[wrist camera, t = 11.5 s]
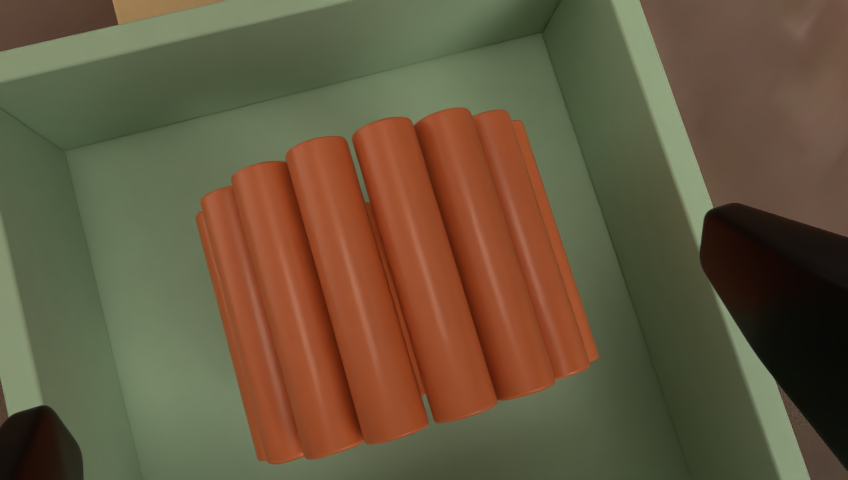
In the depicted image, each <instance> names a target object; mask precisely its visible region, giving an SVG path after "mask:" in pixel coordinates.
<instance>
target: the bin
mask: <svg viewBox="0 0 848 480" xmlns="http://www.w3.org/2000/svg"><path fill="white" fill-rule="evenodd" d="M459 107H462V108H467V109H468V110H469V111H470V112H471V114H472V116H474V115H476V114H479V113H482V112H486V111H490V110H506V111H507V112H508V113H509V114H510V117H511V120H520V121H522V122H523V124H524V127H525V130H526V133H527V136H528V139H529V142H530V145H531V148H532V151H533V154H534V157H535V160H536V163H537V166H538V170H539V173H540V176H541V179H542V182H543V185H544V188H545V191H546V194H547V197H548V200H549V203H550V206H551V209H552V212H553V216H554V219H555V222H556V225H557V228H558V231H559V234H560V237H561V240H562V243H563V246H564V249H565V252H566V255H567V258H568V262H569V265H570V268H571V271H572V274H573V277H574V280H575V283H576V286H577V289H578V292H579V295H580V298H581V301H582V304H583V308H584V311H585V314H586V317H587V320H588V323H589V326H590V329H591V332H592V335H593V338H594V341H595V344H596V347H597V350H598V354H599V358H598V359H596V360H595V361H593V362H590V367H589V368H588V369H586V370H585V371H583V372H580V373H578V374H575V375H572V376H569V377H565V378H562V379H558V380H555V384H554V385H552V386H551V387H549V388H547V389H545V390H542V391H540V392H537V393H534V394H531V395H527V396H524V397H520V398H516V399H511V400H505V401H498V400H497V405H495V406H494V407H493V408H491V409H489V410H487V411H485V412H482V413H480V414H477V415H474V416H471V417H468V418H465V419H461V420H457V421H453V422H448V423H436V422H435V421H434V420H433V416H432V413H431V409H430V406H429V403H428V399H427V396H426V394H425V395H424V396H422V400H423V403H424V406H425V410H426V413H427V417H428V420H429V425H428V426H427V427H425V428H424V429H422V430H420V431H418V432H416V433H413V434H411V435H408V436H405V437H403V438H400V439H396V440H393V441H389V442H385V443H381V444H375V445H367V444H366V443H365V442H363V443H362V444H360V445H358V446H356V447H354V448H351V449H349V450H346V451H343V452H340V453H337V454H334V455H331V456H327V457H323V458H319V459H306V458H305V457H302V458H299V459H296V460H293V461H290V462H286V463H282V464H276V465H274V464H269V463H268V462H267V461H259V460H258V459H257V456H256V452H255V449H254V445H253V441H252V437H251V433H250V429H249V425H248V421H247V417H246V414H245V410H244V406H243V402H242V398H241V394H240V390H239V386H238V383H237V379H236V375H235V371H234V367H233V363H232V359H231V355H230V352H229V348H228V344H227V340H226V336H225V332H224V328H223V324H222V321H221V317H220V313H219V309H218V305H217V301H216V297H215V293H214V290H213V286H212V282H211V278H210V274H209V270H208V266H207V262H206V259H205V255H204V251H203V247H202V243H201V239H200V235H199V231H198V228H197V224H196V220H195V218H196V215H197V214H198V213H199V212H200V211H202V209H201V205H200V201H201V198H202V197H203V196H204V195H206V194H208V193H210V192H212V191H214V190H217V189H220V188H223V187H227V186H232V183H231V177H232V175H233V174H234V173H236V172H237V171H239V170H241V169H243V168H245V167H248V166H250V165H253V164H257V163H261V162H267V161H286V158H285V157H286V153H287V151H288V150H289V149H291V148H292V147H294V146H296V145H298V144H300V143H302V142H304V141H307V140H310V139H314V138H318V137H324V136H341V137H344V138H345V139H346V140H347V142H348V145H349V149H350V152H351V156H352V159H353V163H354V166H355V169H356V173H357V176H358V180H359V183H360V187H361V190H362V193H363V197H364V200H365V202H370V201H369V197H368V194H367V190H366V187H365V183H364V180H363V177H362V173H361V170H360V166H359V163H358V159H357V156H356V153H355V149H354V146H353V142H352V135H353V134H354V132H356V131H357V130H358V129H360V128H361V127H363V126H365V125H367V124H369V123H372V122H374V121H377V120H381V119H385V118H390V117H407V118H409V119H411V121H412V122H413V125H415V123H417V122H418V121H419V120H421V119H422V118H424V117H426V116H428V115H430V114H432V113H435V112H438V111H441V110H445V109H449V108H459ZM286 162H287V161H286ZM712 208H713V205H712V203H711V200H710V197H709V194H708V191H707V189H706V186H705V183H704V180H703V177H702V175H701V172H700V169H699V166H698V163H697V161H696V158H695V155H694V152H693V149H692V147H691V144H690V141H689V138H688V135H687V133H686V130H685V127H684V124H683V121H682V119H681V116H680V113H679V110H678V107H677V105H676V102H675V99H674V96H673V93H672V91H671V88H670V85H669V82H668V79H667V77H666V74H665V71H664V68H663V65H662V63H661V60H660V57H659V54H658V51H657V49H656V46H655V43H654V40H653V38H652V35H651V32H650V29H649V26H648V24H647V21H646V18H645V15H644V12H643V10H642V7H641V4H640V1H639V0H225V1H220V2H216V3H212V4H207V5H203V6H198V7H194V8H190V9H185V10H181V11H176V12H172V13H168V14H163V15H159V16H155V17H150V18H146V19H141V20H137V21H133V22H128V23H124V24H119V25H115V26H111V27H106V28H102V29H98V30H93V31H89V32H84V33H80V34H76V35H71V36H67V37H62V38H58V39H54V40H49V41H45V42H41V43H36V44H32V45H27V46H23V47H19V48H14V49H10V50H5V51H1V52H0V379H1V384H2V388H3V393H4V398H5V402H6V407H7V412H8V416H9V417H10V416H11V415H12V414H14V413H17V412H20V411H23V410H26V409H30V408H33V407H37V406H40V405H47V406H49V407H51V408H52V409H53V410H54V411H55V412H56V413H57V415H58V416H59V418H60V419H61V420H62V422H63V423H64V424H65V426H66V427H67V429H68V430H69V431H70V433H71V434H72V436H73V437H74V438H75V440H76V441H77V443H78V445H79V447H80V449H81V452H82V457H83V471H84V480H810V477H809V474H808V471H807V468H806V466H805V463H804V460H803V457H802V454H801V452H800V449H799V446H798V443H797V440H796V438H795V435H794V432H793V429H792V426H791V424H790V421H789V418H788V415H787V412H786V410H785V407H784V404H783V401H782V398H781V396H780V393H779V390H778V387H777V384H776V382H775V379H774V378H773V376H772V375H771V374H770V373H769V371H768V370H767V369H766V367H765V366H764V365H763V363H762V362H761V361H760V359H759V358H758V357H757V355H756V354H755V352H754V351H753V349H752V348H751V346H750V345H749V343H748V342H747V340H746V339H745V337H744V336H743V334H742V332H741V331H740V329H739V328H738V326H737V324H736V323H735V321H734V320H733V318H732V316H731V315H730V313H729V312H728V310H727V308H726V307H725V305H724V304H723V302H722V300H721V299H720V297H719V296H718V294H717V292H716V291H715V289H714V288H713V286H712V284H711V283H710V281H709V280H708V278H707V276H706V275H705V273H704V271H703V269H702V267H701V264H700V258H699V253H700V245H701V237H702V228H703V220H704V216H705V214H706V213H707V211H709V210H710V209H712Z"/></svg>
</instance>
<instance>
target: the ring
mask: <svg viewBox="0 0 848 480" xmlns="http://www.w3.org/2000/svg"><path fill="white" fill-rule="evenodd" d="M352 142H353V146H354V149H355V153H356V156H357V159H358V163H359V166H360V170H361V173H362V177H363V180H364V183H365V187H366V190H367V194H368V197H369V201H370V202H365V200H364V197H363V193H362V190H361V187H360V183H359V180H358V176H357V173H356V169H355V166H354V163H353V159H352V156H351V152H350V149H349V145H348V142H347V140H346V139H345V138H344V137H341V136H324V137H318V138H314V139H310V140H307V141H304V142H302V143H300V144H298V145H296V146H294V147H292V148H291V149H289V150H288V151H287V153H286V157H285V158H286V161H287V162H286V161H267V162H261V163H257V164H253V165H250V166H248V167H245V168H243V169H241V170H239V171H237V172H236V173H234V174H233V175H232V177H231V183H232V186H227V187H223V188H220V189H217V190H214V191H212V192H210V193H208V194H206V195H204V196H203V197H202V198H201V201H200V205H201V209H202V211H200V212H199V213H198V214H197V215H196V218H195V220H196V224H197V228H198V231H199V235H200V239H201V243H202V247H203V251H204V255H205V259H206V262H207V266H208V270H209V274H210V278H211V282H212V286H213V290H214V293H215V297H216V301H217V305H218V309H219V313H220V317H221V321H222V324H223V328H224V332H225V336H226V340H227V344H228V348H229V352H230V355H231V359H232V363H233V367H234V371H235V375H236V379H237V383H238V386H239V390H240V394H241V398H242V402H243V406H244V410H245V414H246V417H247V421H248V425H249V429H250V433H251V437H252V441H253V445H254V449H255V452H256V456H257V459H258V460H259V461H267V462H268V463H269V464H274V465H276V464H282V463H286V462H290V461H293V460H296V459H299V458H302V457H305V458H306V459H319V458H323V457H327V456H331V455H334V454H337V453H340V452H343V451H346V450H349V449H351V448H354V447H356V446H358V445H360V444H362V443H363V442H365V443H366V444H367V445H375V444H381V443H385V442H389V441H393V440H396V439H400V438H403V437H405V436H408V435H411V434H413V433H416V432H418V431H420V430H422V429H424V428H425V427H427V426H428V425H429V420H428V417H427V413H426V410H425V406H424V403H423V400H422V396H424V395H425V394H426V396H427V399H428V403H429V406H430V409H431V413H432V416H433V420H434V421H435V422H436V423H448V422H453V421H457V420H461V419H465V418H468V417H471V416H474V415H477V414H480V413H482V412H485V411H487V410H489V409H491V408H493V407H494V406H495V405H497V400H498V401H505V400H511V399H516V398H520V397H524V396H527V395H531V394H534V393H537V392H540V391H542V390H545V389H547V388H549V387H551V386H552V385H554V384H555V380H558V379H562V378H565V377H569V376H572V375H575V374H578V373H580V372H583V371H585V370H586V369H588V368H589V367H590V362H593V361H595V360H596V359H598V358H599V354H598V350H597V347H596V344H595V341H594V338H593V335H592V332H591V329H590V326H589V323H588V320H587V317H586V314H585V311H584V308H583V304H582V301H581V298H580V295H579V292H578V289H577V286H576V283H575V280H574V277H573V274H572V271H571V268H570V265H569V262H568V258H567V255H566V252H565V249H564V246H563V243H562V240H561V237H560V234H559V231H558V228H557V225H556V222H555V219H554V216H553V212H552V209H551V206H550V203H549V200H548V197H547V194H546V191H545V188H544V185H543V182H542V179H541V176H540V173H539V170H538V166H537V163H536V160H535V157H534V154H533V151H532V148H531V145H530V142H529V139H528V136H527V133H526V130H525V127H524V124H523V122H522V121H520V120H511V117H510V114H509V113H508V112H507V111H506V110H490V111H486V112H482V113H479V114H476V115H474V116H472V114H471V112H470V111H469V110H468V109H467V108H462V107H459V108H449V109H445V110H441V111H438V112H435V113H432V114H430V115H428V116H426V117H424V118H422V119H421V120H419V121H418V122H417V123H415V125H413V122H412V121H411V119H409V118H407V117H390V118H385V119H381V120H377V121H374V122H372V123H369V124H367V125H365V126H363V127H361V128H360V129H358V130H357V131H356V132H354V134H353V135H352Z"/></svg>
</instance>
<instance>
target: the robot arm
mask: <svg viewBox="0 0 848 480" xmlns="http://www.w3.org/2000/svg"><path fill="white" fill-rule="evenodd" d="M699 258H700V264H701V267H702V269H703V271H704V273H705V275H706V276H707V278H708V280H709V281H710V283H711V284H712V286H713V288H714V289H715V291H716V292H717V294H718V296H719V297H720V299H721V300H722V302H723V304H724V305H725V307H726V308H727V310H728V312H729V313H730V315H731V316H732V318H733V320H734V321H735V323H736V324H737V326H738V328H739V329H740V331H741V332H742V334H743V336H744V337H745V339H746V340H747V342H748V343H749V345H750V346H751V348H752V349H753V351H754V352H755V354H756V355H757V357H758V358H759V359H760V361H761V362H762V363H763V365H764V366H765V367H766V369H767V370H768V371H769V373H770V374H771V375H772V376H773V378H774V379H775V380H776V381H777V383H778V384H779V385H780V386H781V388H782V389H783V390H784V392H785V393H786V394H787V395H788V397H789V398H790V399H791V400H792V402H793V403H794V404H795V405H796V407H797V408H798V409H799V411H800V412H801V413H802V414H803V416H804V417H805V418H806V419H807V421H808V422H809V423H810V424H811V426H812V427H813V428H814V429H815V431H816V432H817V433H818V435H819V436H820V437H821V438H822V440H823V441H824V442H825V443H826V445H827V446H828V447H829V448H830V450H831V451H832V452H833V454H834V455H835V456H836V457H837V459H838V460H839V461H840V462H841V464H842V465H843V466H844V467H845V469H846V470H847V471H848V237H845V236H842V235H838V234H835V233H832V232H829V231H826V230H823V229H819V228H816V227H813V226H810V225H807V224H803V223H800V222H797V221H794V220H791V219H787V218H784V217H781V216H778V215H775V214H771V213H768V212H765V211H762V210H759V209H756V208H752V207H749V206H746V205H743V204H739V203H729V204H726V205H723V206H719V207H716V208H712V209H710V210H709V211H707V213H706V214H705V216H704V220H703V228H702V237H701V245H700V253H699ZM0 480H84V471H83V457H82V452H81V449H80V447H79V445H78V443H77V441H76V440H75V438H74V437H73V436H72V434H71V433H70V431H69V430H68V429H67V427H66V426H65V424H64V423H63V422H62V420H61V419H60V418H59V416H58V415H57V413H56V412H55V411H54V410H53V409H52V408H51V407H49V406H47V405H40V406H37V407H33V408H30V409H26V410H23V411H20V412H17V413H14V414H12V415H11V416H10V417H9V418H8V419H7V420H6V421H5V422H4V423H3V425H2V426H1V427H0Z"/></svg>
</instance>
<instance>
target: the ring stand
mask: <svg viewBox="0 0 848 480" xmlns="http://www.w3.org/2000/svg"><path fill="white" fill-rule="evenodd" d="M220 1H225V0H112V2H113V6H114V9H115V13H116V17H117V21H118V25H119V24H124V23H128V22H133V21H137V20H141V19H146V18H150V17H155V16H159V15H163V14H168V13H172V12H176V11H181V10H185V9H190V8H194V7H198V6H203V5H207V4H212V3H216V2H220Z"/></svg>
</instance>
